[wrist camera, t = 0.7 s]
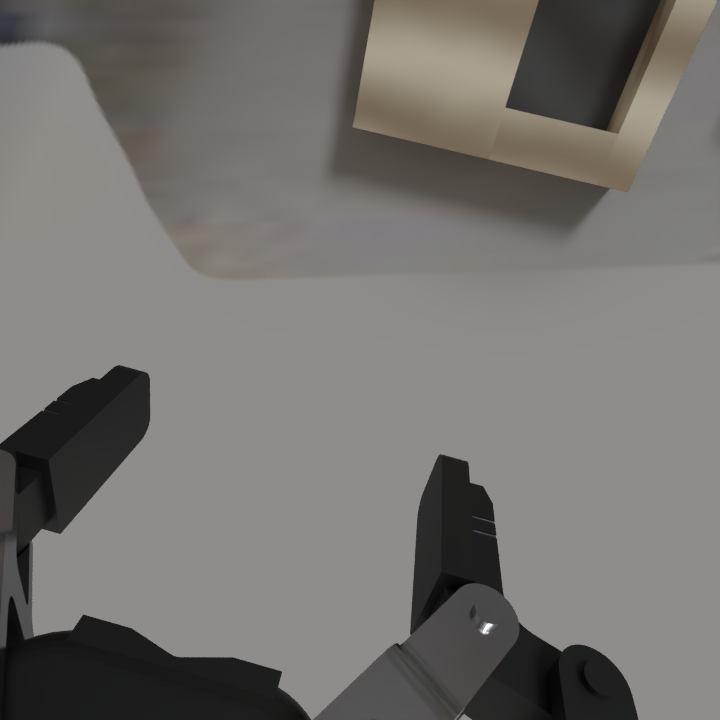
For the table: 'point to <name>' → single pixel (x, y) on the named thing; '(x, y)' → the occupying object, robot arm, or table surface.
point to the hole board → (529, 79)
